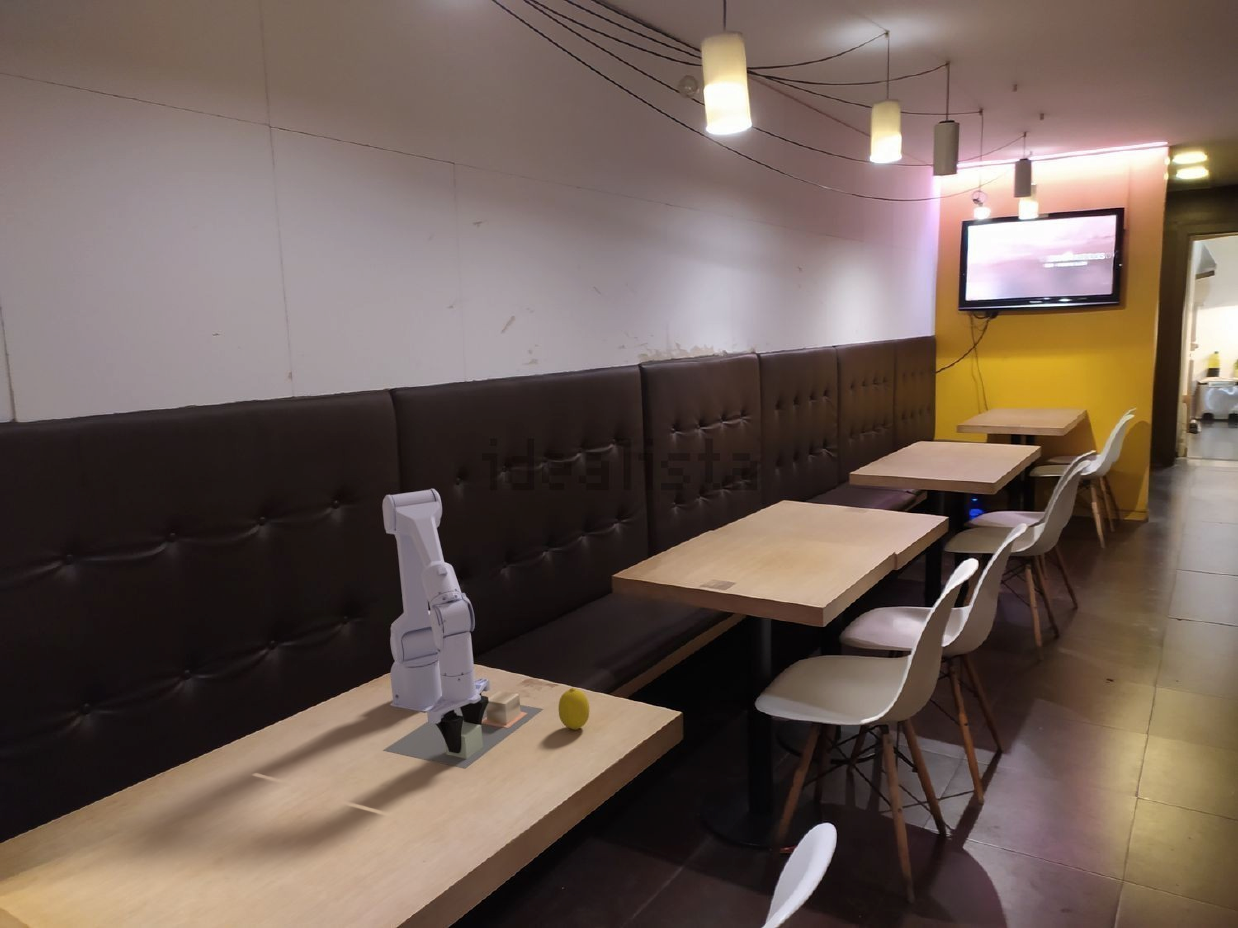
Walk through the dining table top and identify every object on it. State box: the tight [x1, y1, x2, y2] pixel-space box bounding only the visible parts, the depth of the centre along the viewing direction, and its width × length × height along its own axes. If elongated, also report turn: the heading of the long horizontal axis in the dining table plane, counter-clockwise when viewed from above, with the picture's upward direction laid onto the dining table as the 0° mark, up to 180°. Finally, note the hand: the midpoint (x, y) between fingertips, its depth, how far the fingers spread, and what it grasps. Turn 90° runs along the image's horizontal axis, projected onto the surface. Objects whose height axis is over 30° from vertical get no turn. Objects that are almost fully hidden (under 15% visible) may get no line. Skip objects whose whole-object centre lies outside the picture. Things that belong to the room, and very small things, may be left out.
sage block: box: [445, 722, 483, 759], centre depth 144 cm, size 4×4×4 cm
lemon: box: [558, 687, 590, 731], centre depth 149 cm, size 6×6×8 cm
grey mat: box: [383, 704, 544, 769], centre depth 153 cm, size 18×24×1 cm
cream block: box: [486, 690, 521, 725], centre depth 156 cm, size 4×4×4 cm
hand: (464, 744), depth 144 cm, fingers closed on sage block, 4 cm apart
